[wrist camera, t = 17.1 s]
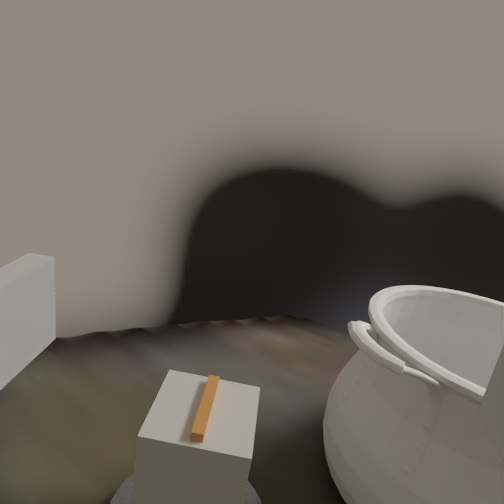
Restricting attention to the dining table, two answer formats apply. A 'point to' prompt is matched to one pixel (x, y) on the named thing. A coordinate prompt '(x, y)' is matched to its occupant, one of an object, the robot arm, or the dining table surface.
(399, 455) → the pot
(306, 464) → the dining table surface
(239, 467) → the box with orange strip
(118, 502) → the hub plate
